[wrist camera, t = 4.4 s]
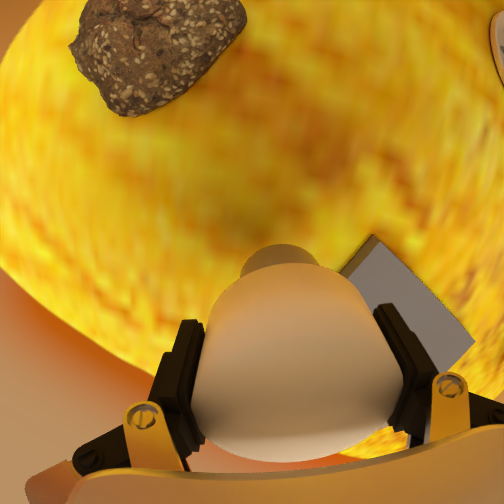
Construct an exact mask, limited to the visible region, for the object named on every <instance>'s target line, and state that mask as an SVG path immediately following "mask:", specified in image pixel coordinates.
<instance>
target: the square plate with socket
mask: <svg viewBox="0 0 504 504" xmlns="http://www.w3.org/2000/svg"><path fill="white" fill-rule="evenodd" d="M339 274H340V275H342V276H344V277H345V278H346V279H348V280H349V281H350V282H351V283H352V284H353V285H354V286H355V287H356V288H357V289H358V291H359V292H360V294H361V295H362V297H363V299H364V301H365V302H366V304H367V306H368V308H369V310H370V311H371V313H372V315H373V310H374V309H375V308H377V306H378V305H379V304H384V303H393V304H394V306H395V307H396V309H397V310H398V312H399V313H400V315H401V316H402V318H403V319H404V321H405V323H406V324H407V326H408V327H409V329H410V330H411V331H413V332H414V333H415V334H416V335H417V337H418V339H419V340H420V342H421V343H422V345H423V347H424V348H425V350H426V351H427V353H428V355H429V356H430V358H431V360H432V361H433V363H434V365H435V366H436V368H437V370H438V371H439V373H443V372H447V371H448V370H449V369H450V368H451V367H452V366H453V365H454V364H455V363H456V362H457V361H458V360H459V359H460V358H461V357H462V356H463V354H464V353H465V352H466V351H467V350H468V349H469V348H470V347H471V346H472V345H473V344H474V343H475V342H476V341H475V340H474V339H473V338H472V337H471V336H470V334H469V333H468V332H467V331H466V330H465V329H464V327H463V326H462V325H461V324H460V323H459V322H458V321H457V319H456V318H455V317H454V316H453V315H452V314H451V313H450V312H449V311H448V309H447V308H446V307H445V306H444V305H443V304H442V303H441V302H440V301H439V300H438V299H437V298H436V297H435V295H434V294H433V293H432V292H431V291H430V290H429V289H428V288H427V287H426V286H425V285H424V284H423V283H422V282H421V281H420V280H419V279H418V278H417V277H416V276H415V275H414V274H413V273H412V272H411V271H410V270H409V269H408V268H407V267H406V266H405V265H404V264H403V263H402V262H401V261H400V260H399V259H398V258H397V257H396V256H395V255H394V254H393V253H392V252H391V251H390V250H389V249H388V248H387V247H386V246H385V245H383V244H382V243H381V242H380V241H379V240H378V239H377V238H376V237H375V236H373V235H372V236H371V237H370V239H369V240H368V241H367V242H366V243H365V245H364V246H363V247H362V248H361V249H360V250H359V252H358V253H357V254H356V255H355V256H354V257H353V258H352V260H351V261H350V262H349V263H348V264H347V265H346V266H345V268H344V269H343V270H342V271H341V272H340V273H339ZM387 426H389V425H388V423H387V421H386V422H385V423H384V424H383V425H382V426H381V427H380V428H379V429H378V430H380V429H382V428H385V427H387Z"/></svg>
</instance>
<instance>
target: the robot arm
mask: <svg viewBox="0 0 504 504" xmlns="http://www.w3.org/2000/svg"><path fill="white" fill-rule="evenodd" d="M490 37H491V46H492V52H493V55H494V59H495V63H496V66H497V69H498V72H499V75H500V77H501V79H502V81H503V84H504V11H500V12H498V13H496V14H495V16H494V17H493V19H492V22H491V28H490ZM373 317H374V319H375V321H376V322H377V324H378V326H379V328H380V330H381V332H382V334H383V336H384V337H385V339H386V341H387V343H388V345H389V347H390V349H391V351H392V353H393V355H394V357H395V359H396V361H397V363H398V365H399V367H400V369H401V372H402V375H403V383H404V384H403V389H402V392H401V395H400V397H399V400H398V403H397V405H396V408H395V410H394V412H393V414H392V415H391V416H390V418H389V419H388V420H387V423H388V425H389V426H393V429H394V432H399V431H403V430H404V431H405V433H407V434H408V438H407V445H406V450H403V451H399V452H396V453H392V454H388V455H384V456H380V457H375V458H371V459H366V460H361V461H356V462H351V463H346V464H340V465H334V466H327V467H320V468H312V469H304V470H294V471H281V472H265V473H203V472H192V470H191V468H190V466H189V463H188V460H187V457H188V456H189V455H191V454H192V451H193V452H199V448H200V445H203V444H204V443H205V438H206V437H205V436H204V435H203V434H202V433H201V432H200V430H199V428H198V425H197V423H196V420H195V418H194V415H193V413H192V410H191V399H192V394H193V389H194V384H195V379H196V375H197V370H198V365H199V360H200V356H201V351H202V346H203V341H204V337H205V332H204V328H203V324H202V323H198V321H197V320H196V319H190V320H182V322H181V325H180V328H179V331H178V334H177V337H176V340H175V343H174V346H173V349H172V352H165V353H164V354H163V356H162V359H161V362H160V365H159V367H158V370H157V373H156V376H155V379H154V382H153V385H152V388H151V391H150V394H149V397H148V400H147V401H140V402H136V403H134V404H132V405H131V406H129V407H128V408H127V409H126V411H125V412H124V414H123V424H122V425H121V426H118V427H117V428H115V429H113V430H111V431H109V432H107V433H105V434H104V435H102V436H100V437H98V438H96V439H94V440H92V441H90V442H88V443H86V444H84V445H82V446H81V447H79V448H78V449H77V450H76V451H75V453H74V455H73V457H72V460H71V461H69V462H68V461H67V460H64V461H62V462H60V463H59V464H56V465H54V466H53V467H51V468H49V469H47V470H45V471H43V472H41V473H38V474H37V475H34V476H32V477H31V478H30V479H28V481H27V482H26V484H25V493H26V496H27V498H28V501H29V503H30V504H504V404H502V403H499V402H496V401H494V400H491V399H488V398H485V397H482V396H479V395H476V394H473V393H471V392H468V386H467V382H466V381H465V379H464V378H463V377H462V376H460V375H459V374H457V373H454V372H443V373H439V371H438V370H437V368H436V366H435V365H434V363H433V361H432V360H431V358H430V356H429V355H428V353H427V351H426V350H425V348H424V347H423V345H422V343H421V342H420V340H419V339H418V337H417V335H416V334H415V333H414V332H413V331H411V330H410V329H409V327H408V326H407V324H406V323H405V321H404V319H403V318H402V316H401V315H400V313H399V312H398V310H397V309H396V307H395V306H394V304H393V303H384V304H379V305H378V306H377V308H375V309H374V310H373Z"/></svg>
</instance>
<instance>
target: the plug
mask: <svg viewBox="0 0 504 504" xmlns="http://www.w3.org/2000/svg"><path fill="white" fill-rule="evenodd" d="M403 384H404V383H403V375H402V372H401V369H400V367H399V365H398V363H397V361H396V359H395V357H394V355H393V353H392V351H391V349H390V347H389V345H388V343H387V341H386V339H385V337H384V336H383V334H382V332H381V330H380V328H379V326H378V324H377V322H376V321H375V319H374V317H373V315H372V313H371V311H370V310H369V308H368V306H367V304H366V302H365V301H364V299H363V297H362V295H361V294H360V292H359V291H358V289H357V288H356V287H355V286H354V285H353V284H352V283H351V282H350V281H349V280H348V279H346V278H345V277H344V276H342V275H340V274H339V273H337V272H335V271H333V270H330V269H328V268H325V267H322V266H319V264H318V262H317V261H316V259H315V258H314V257H313V256H312V255H311V254H310V253H309V252H307V251H306V250H304V249H302V248H300V247H297V246H294V245H288V244H277V245H272V246H268V247H265V248H263V249H261V250H259V251H257V252H256V253H255V254H253V255H252V256H251V257H250V258H249V259H248V260H247V262H246V263H245V265H244V266H243V268H242V271H241V274H240V279H238V280H237V281H236V282H234V283H233V284H231V285H230V286H229V287H228V288H227V289H226V290H225V291H224V292H223V293H222V294H221V296H220V297H219V298H218V299H217V301H216V303H215V304H214V306H213V308H212V310H211V313H210V315H209V319H208V323H207V328H206V332H205V337H204V341H203V346H202V351H201V356H200V360H199V365H198V370H197V375H196V379H195V384H194V389H193V394H192V399H191V410H192V413H193V415H194V418H195V420H196V423H197V425H198V428H199V430H200V432H201V433H202V434H203V435H204V436H205V437H206V438H207V439H208V440H209V441H211V442H212V443H213V444H215V445H216V446H218V447H220V448H221V449H223V450H225V451H228V452H230V453H232V454H235V455H238V456H241V457H245V458H248V459H253V460H259V461H266V462H298V461H306V460H312V459H316V458H321V457H325V456H328V455H331V454H335V453H337V452H340V451H343V450H345V449H347V448H349V447H352V446H354V445H355V444H357V443H359V442H361V441H363V440H364V439H366V438H367V437H369V436H370V435H371V434H373V433H374V432H375V431H377V430H378V429H379V428H380V427H381V426H382V425H383V424H384V423H385V422H386V421H387V420H388V419H389V418H390V416H391V415H392V414H393V412H394V410H395V408H396V405H397V403H398V400H399V397H400V395H401V392H402V389H403Z"/></svg>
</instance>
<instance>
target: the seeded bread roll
mask: <svg viewBox="0 0 504 504" xmlns="http://www.w3.org/2000/svg"><path fill="white" fill-rule="evenodd" d="M79 22H80V26H79V34H78V35H77V36H76V39H75V40H74V42H73V43H71V44H70V45H68V47H69V49H70V50H71V52H72V55H73V56H74V57H75V63H76V64H77V67H78V70H79V71H80V72H81V73H82V74H83V75H84V76H85V77H87V79H88V80H89V81H93V82H94V83H95V85H96V86H97V87H98V88H99V90H100V94H101V96H102V98H103V99H104V101H105V102H106V104H107V107H108V108H109V109H110V110H112V111H113V112H114V113H116V114H119V116H123V117H126V116H131V117H137V116H140V115H142V114H147V113H149V112H150V111H152V110H154V109H156V108H158V107H160V106H163V105H164V104H166V103H168V102H169V101H170V100H171V99H175V98H177V97H178V96H179V95H182V94H183V93H185V92H186V91H187V89H188V88H189V87H190V86H191V85H193V84H194V82H195V81H196V80H197V79H198V78H199V77H201V76H202V75H203V74H204V73H205V72H206V71H207V70H208V68H209V67H210V66H211V65H212V64H213V62H214V61H215V60H216V59H217V58H218V55H219V54H220V53H221V52H222V51H223V50H224V49H225V48H226V47H227V46H228V45H229V44H230V42H232V41H233V40H234V38H235V37H236V36H237V35H238V34H239V33H240V32H241V31H242V29H243V28H244V26H245V25H246V22H247V16H246V11H245V8H244V7H243V5H242V3H241V2H240V1H239V0H88V2H87V3H86V5H85V7H84V9H83V11H82V13H81V17H80V18H79Z"/></svg>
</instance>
